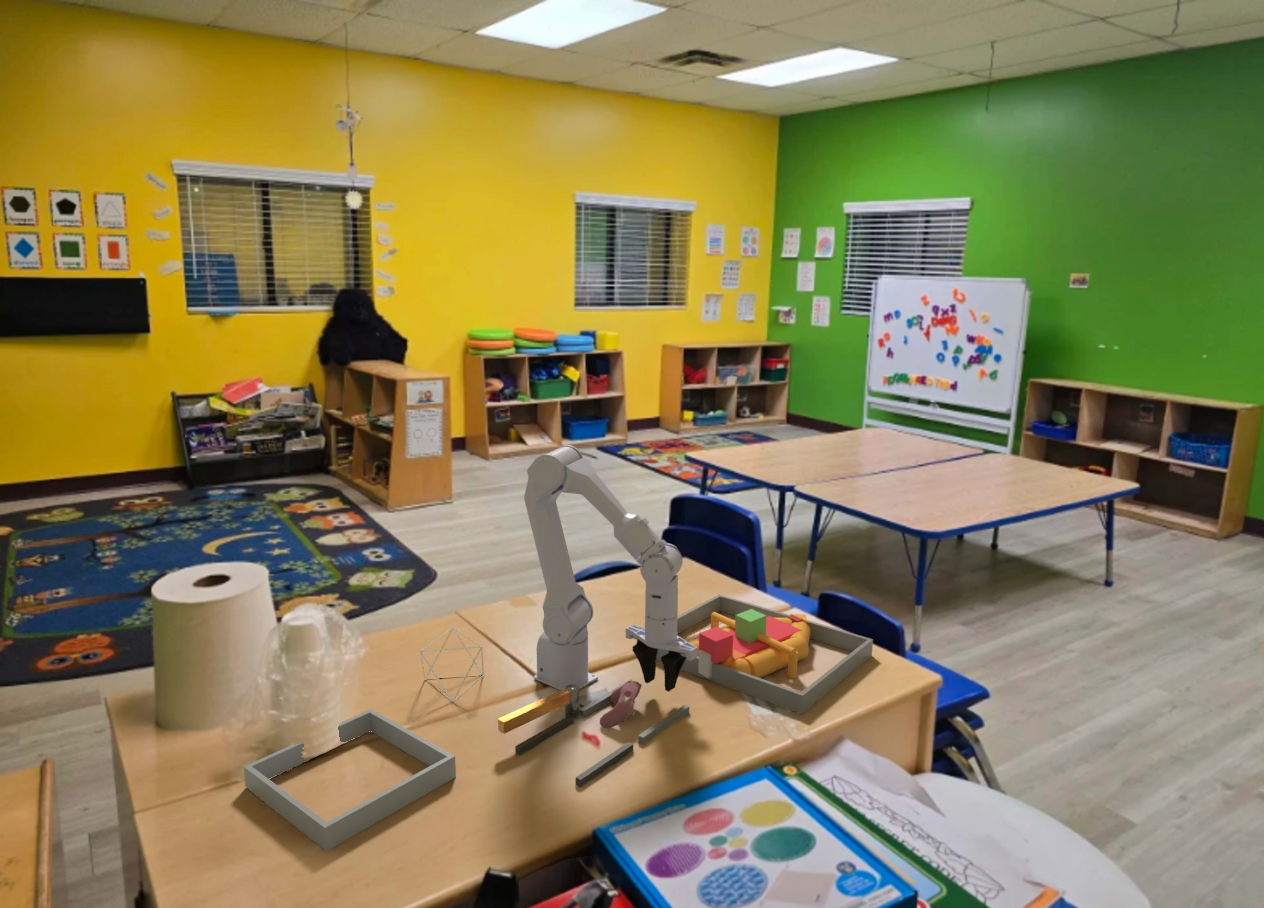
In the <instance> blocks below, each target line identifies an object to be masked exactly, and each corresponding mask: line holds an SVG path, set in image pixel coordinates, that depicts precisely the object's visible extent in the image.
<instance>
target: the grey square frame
mask: <svg viewBox="0 0 1264 908" xmlns="http://www.w3.org/2000/svg"><path fill="white" fill-rule="evenodd" d="M339 723H340V724H339ZM339 723H338V724H339V726H338V730H339V737H340V741H341V742H346V741H349V740H351V739H353V738H357V737H358V736H361V735H363V734H365V733H367V734H369V733H370V732H369V731H372V732H373V734H374V733H375V735H376V736H377V735H378V736H377V737H379V738H381V739H383V740H384V741H385V742H388V743H389V744H391V745H393V746H394V747H396V748H397V749H400V750H401V751H403V752H405V753H407V754H408V755H410V756H411V757H413V758H415V759H416V760H418V761H420V762H421V763H423V764H425V765H426V766H427V767H426V768H423V769H422V770H420V771H418V772H417V773H415V774H413V775H412V776H409V777H407V778H406V779H404V780H402V781H400V782H398V783H397V784H395V785H393V786H391V787H389V788H388V789H385V790H383V791H382V792H380V793H378V794H376V795H375V796H373V797H370V798H368V799H367V800H366V801H364V802H362V803H360V804H357V805H356V806H354V807H352V808H351V809H349V810H347V811H345V812H344V813H342V814H340V815H338V816H336V817H334V818H332V819H330V820H328V821H326V820H324V819H323V818H322V817H320V815H318V814H317V813H315V812H314V811H313V810H311V809H310V808H308V807H307V806H305V805H304V804H303V803H301V802H300V801H299V800H298V799H296V798H295V797H293V796H292V795H291V794H290V793H288V792H287V791H286V790H284V789H283V788H281V787H280V786H279V785H277V784H276V783H275V782H273V781H272V779H271V780H269V778H271V777H273V776H275V775H278V774H280V773H283V772H285V771H287V770H289V769H291V768H293V767H296V766H298V765H299V764H302V763H303V761H304V760H303V759H304V758H302V757H301V756H302V755H303V754H302V753H301V752H302V751H304V750H303V749H302V747H304V744H303V743H304V742H303V743H300V744H296V745H293V744H290V745H289V746H285V747H284V748H282V749H280V750H278V751H275V752H272V753H271V754H268V755H267V756H264V757H262V758H259V759H258V760H255V761H253V762H251V763H249V764H246V765H244V766H243V774H244V782H245V783H244V786H245V788H246V787H247V788H248V789H250V790H251V791H252V792H253V793H255V794H256V795H257V796H258V797H259V798H260V799H259V798H258V797H257V796H256V797H257V798H258V799H259V800H261V801H262V800H263V801H264V802H265V803H264V802H263V801H262V802H263V803H264V804H266V805H267V806H269V808H271V809H272V810H273V809H274V810H273V811H274V812H276V813H277V814H278V815H280V816H281V817H282V818H283V819H285V820H286V821H287V822H289V823H290V824H291V825H293V827H295V828H297V830H299V831H300V832H302V833H303V834H304V835H305V836H306V837H308V838H309V839H310V840H312V841H313V842H314V843H316V845H318V846H319V847H321V848H322V849H323V850H325V851H326V852H328V851H330V850H331V849H333V848H335V847H336V846H340V844H342V843H344V842H346V841H348V840H349V839H350V838H351V839H352V838H353V837H354V836H356V835H358V834H359V833H361V832H362V831H364V830H366V829H367V828H369V827H371V826H373V825H375V824H376V823H378V822H380V821H382V820H384V819H386V818H387V817H389V816H391V815H392V814H394V813H396V812H397V811H399V810H401V809H403V808H404V807H406V806H408V805H409V804H411V803H413V802H416V801H417V800H419V799H420V798H422V797H424V796H425V795H428V794H429V793H431V792H433V791H434V790H436V789H439V788H440V787H441V786H443V785H445V784H446V783H448V782H450V781H451V780H454V779H455V778H456V777H457V770H456V767H457V766H456V756H455V755H454V754H452V753H451V752H448V751H446V750H445V749H444V748H441V747H440V746H438V745H436V744H434V743H432V742H431V741H429V740H427V739H425V738H424V737H422V736H420V735H418V734H416V733H415V732H413V731H411V730H409V729H408V728H406V727H404V726H402V725H401V724H399V723H397V722H396V721H393V720H391V718H388V717H386V716H384V715H383V714H381V713H379V712H377V711H375V710H374V709H372V708H370V709H367V710H366V711H364V712H361V713H359V714H357V715H354V716H353V717H350V718H348V719H346V720H344V721H341V722H339ZM368 732H369V733H368ZM372 732H371V733H372ZM365 735H366V734H365ZM363 736H364V735H363ZM361 737H362V736H361ZM357 739H358V738H357ZM302 765H303V764H302ZM298 767H299V766H298ZM296 768H297V767H296ZM291 770H292V769H291ZM289 771H290V770H289ZM287 772H288V771H287ZM285 773H286V772H285ZM283 774H284V773H283ZM248 789H247V790H248ZM252 792H251V793H252ZM253 793H252V794H253Z"/></svg>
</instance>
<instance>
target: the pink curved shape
mask: <svg viewBox="0 0 1264 908" xmlns="http://www.w3.org/2000/svg"><path fill="white" fill-rule="evenodd" d="M624 683H625V682H624ZM624 683H623V684H624ZM642 687H643V685H642V684H641V683H640V682H639V681H636V680H632V679H630V680H627V681H626V683H625V684H624V685H623V686H621V687H620V688H618V689H616V690H615V691H613V693H612V694H611V696H610V700H611V703H613V704H616V705H615V706H614V707H612V709H610V710H608V711H607V712H605V713H604V714H602V716H601V717H600V719H599V725H600V726H601V727H602V728H605V729H607V728H614V727H616V726H618V725H619V724H621V723H624V722H625V721H626V720H627V719H628V718H629V716H630V715H631V716H634V715H635V714H636V709H635V704H636V698H637V697H638V696H639V694H640V692H641V691H640V690H641V689H642Z"/></svg>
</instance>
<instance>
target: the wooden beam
mask: <svg viewBox="0 0 1264 908" xmlns="http://www.w3.org/2000/svg"><path fill="white" fill-rule="evenodd" d="M561 707H564V713H565V715H564V717H567V716H568V715H570V716H573V717H574V719H577V718H579V717H580V716H579V709H580V689H579V686H577V685H573V684H572V685H567V686H566V687H565V689H563V690H559V691H557V692H554V693H553V694H550V695H547V696H546V697H543V698H541V699H538V700H537V701H534V702H532V703H530V704H527V705H526V706H524V707H522V708H519V709H517V710H514V711H512V712H510V713H508V714H506V715H504V716H501V717H499V718H497V730H498V731H499V732H500V733H502V734H503V735H505V734H507V733H509V732H511V731H514V730H515V729H518V728H520V727H521V726H523V725H526V724H528V723H530V722H533V721H534V720H537V719H538V718H541V717H543V716H545V715H548V714H549V713H551V712H554V711H556V710H558V709H560V708H561Z"/></svg>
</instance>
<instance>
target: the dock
mask: <svg viewBox="0 0 1264 908" xmlns="http://www.w3.org/2000/svg"><path fill="white" fill-rule="evenodd" d="M626 682H627V681H626ZM626 682H624V683H622V684H620V685H618V686H617V687H616V688H613V689H611V690H610V691H608V692H607V693H605V694H603V695H602V696H600V697H598V698H597V699H595V700H593V701H591V702H589V703H588V704H586V705H585V706H582V707H580V708H579V717H582V718H585V717H587V716H589V715H590V714H592V713H593V712H596V711H597V710H599V709H601V708H602V707H604V706H605V704H606V705H608V704H609V703H610V702H611V703H612V701H611V700H610V696H611V694H612V693H613V691H615V690H616V689H618V688H620V687H621V686H623V685H624V684H625V683H626ZM608 702H609V703H608ZM688 714H690V706H689V705H687V704H684V705H682V706H680V707H679V708H678V709H676V710H675V711H672V712H671V713H670V714H669V715H667V716H665V717H663V719H661V720H659V721H658V722H656V723H655V724H653V725H651V726H650V727H648V728H647V729H645V731H642V733H639V735H637V743H639V744H641V745H644V744H645V743H647V742H649V741H650V740H651V739H653V738H654V737H656V736H657V735H659V734H661V733H662V732H663V731H665V730H666V729H667V728H669V727H671V726H672V725H673V724H675V723H676V722H678V721H679V720H681V719H682V718H684V717H685V716H687V715H688ZM574 721H575V718H574V717H573V716H570V715H568V716H567V717H566V716H564V718H561V719H560V720H559V721H557V722H555V723H553V724H552V725H550V726H548V727H546V728H545V729H542V730H541V731H539V732H538V733H536V734H534V735H532V736H530V737H529V738H527V739H526V740H524V741H522V742H520V743H519V744H516V745H515V746H514V747H515V754H516V755H518V756H521V755H523V754H525V753H526V752H528V751H529V750H531V749H533V748H535V747H536V746H538V745H540V744H541V743H544V742H545V741H546V740H548V739H550V738H552V737H554V736H556V735H557V734H558V733H560V732H562V731H563V730H565V729H568V727H570V726H571V725H573V724H575V723H574ZM632 752H634V743H632V742H629V741H628V742H626V743H625V744H623V745H621V746H620V747H619V748H617V749H616V750H614V751H613V752H612V753H610V754H609V755H607V756H606V757H604V758H603V759H601V760H599V761H598V762H596V763H594V764H593V765H592V766H590V767H589V768H587V769H585V771H582V772H581V773H580V774H579V775H576V776H575V785H576V786H577V787H580V788H581V787H583V786H585V785H586V784H587V783H589V782H590V781H592V780H594V779H595V778H596V777H598V776H599V775H600V774H602V773H603V772H605V771H606V770H607V769H609V768H611V767H612V766H613V765H615V764H617V763H618V762H619V761H621V760H622V759H624V758H625V757H627V756H628V755H630V754H631V753H632Z"/></svg>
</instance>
